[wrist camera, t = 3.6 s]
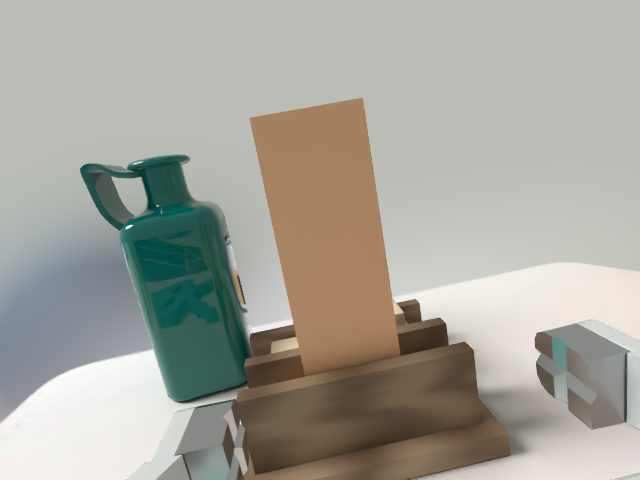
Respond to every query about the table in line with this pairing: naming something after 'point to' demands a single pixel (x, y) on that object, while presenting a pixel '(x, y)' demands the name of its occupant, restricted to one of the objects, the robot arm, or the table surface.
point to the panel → (328, 233)
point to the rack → (367, 411)
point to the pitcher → (180, 276)
